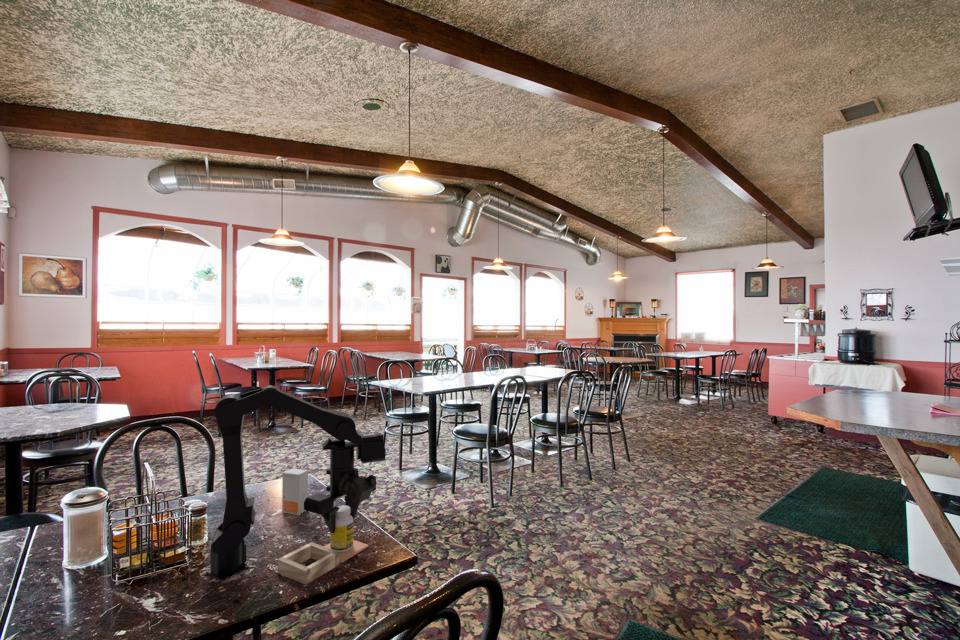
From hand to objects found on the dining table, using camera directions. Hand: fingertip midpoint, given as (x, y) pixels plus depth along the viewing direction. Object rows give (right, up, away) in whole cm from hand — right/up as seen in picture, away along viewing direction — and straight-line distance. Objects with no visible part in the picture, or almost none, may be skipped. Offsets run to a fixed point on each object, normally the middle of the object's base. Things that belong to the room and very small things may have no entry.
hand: (341, 528), depth 116 cm
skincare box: (-20, -5, +23) cm, 31 cm away
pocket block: (-5, -6, -9) cm, 11 cm away
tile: (0, -5, 0) cm, 5 cm away
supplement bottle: (0, -5, 0) cm, 5 cm away
